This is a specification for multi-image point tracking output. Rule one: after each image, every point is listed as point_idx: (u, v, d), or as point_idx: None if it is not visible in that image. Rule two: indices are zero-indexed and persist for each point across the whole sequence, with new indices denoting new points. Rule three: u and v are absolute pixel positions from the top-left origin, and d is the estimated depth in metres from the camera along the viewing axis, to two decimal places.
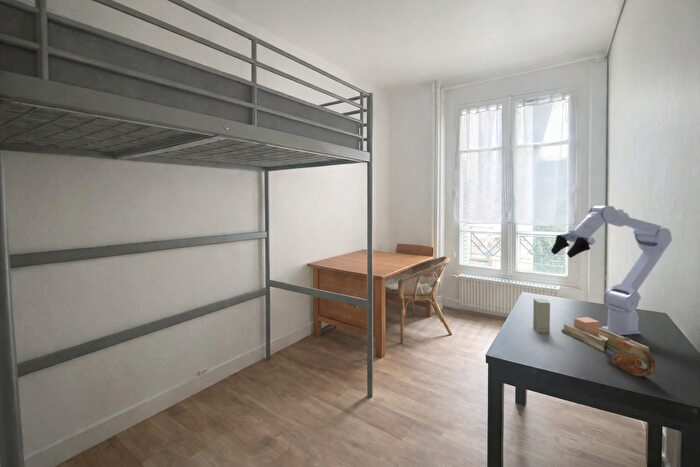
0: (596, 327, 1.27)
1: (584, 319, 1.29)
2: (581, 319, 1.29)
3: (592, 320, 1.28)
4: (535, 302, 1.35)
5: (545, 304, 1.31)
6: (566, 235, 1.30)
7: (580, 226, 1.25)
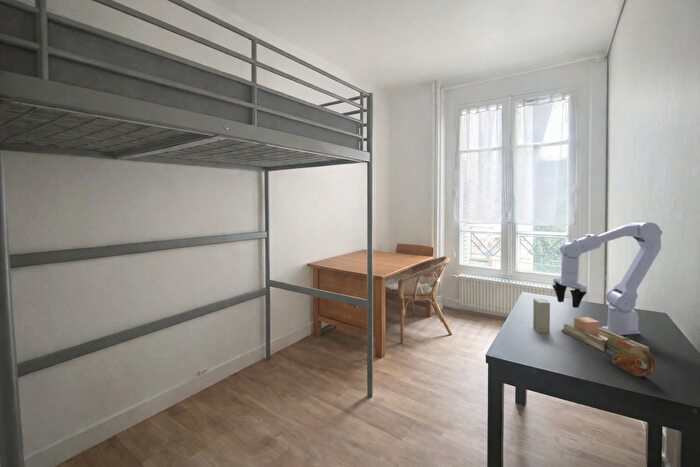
0: (596, 327, 1.27)
1: (584, 319, 1.29)
2: (581, 319, 1.29)
3: (592, 320, 1.28)
4: (535, 302, 1.35)
5: (545, 304, 1.31)
6: None
7: (564, 275, 1.35)
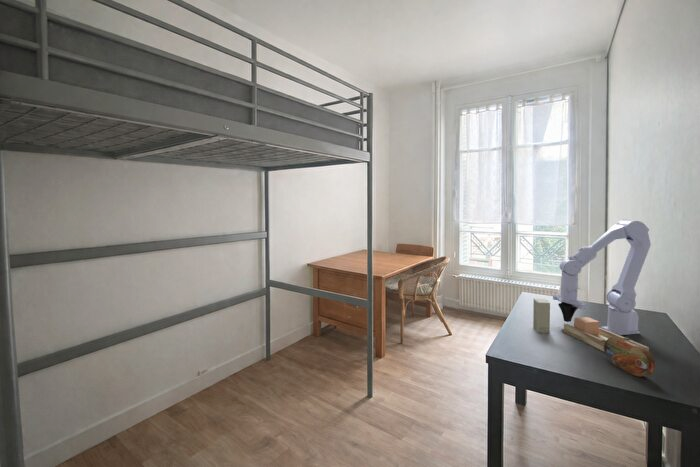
0: (596, 327, 1.27)
1: (584, 319, 1.29)
2: (581, 319, 1.29)
3: (592, 320, 1.28)
4: (535, 302, 1.35)
5: (545, 304, 1.31)
6: None
7: (563, 292, 1.36)
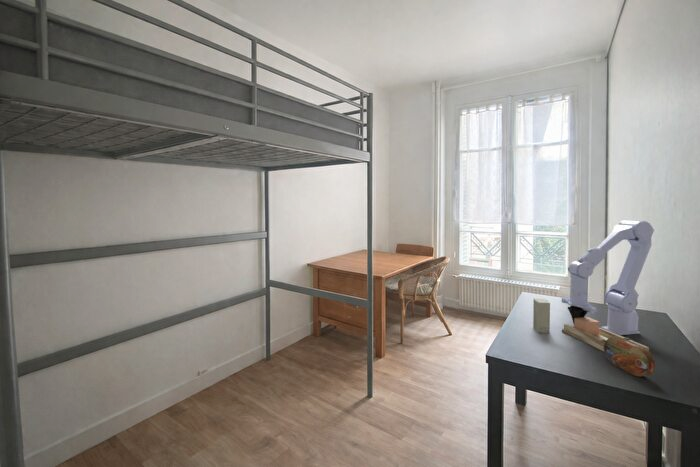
0: (596, 327, 1.27)
1: (584, 319, 1.29)
2: (581, 319, 1.29)
3: (592, 320, 1.28)
4: (535, 302, 1.35)
5: (545, 304, 1.31)
6: None
7: (573, 295, 1.31)
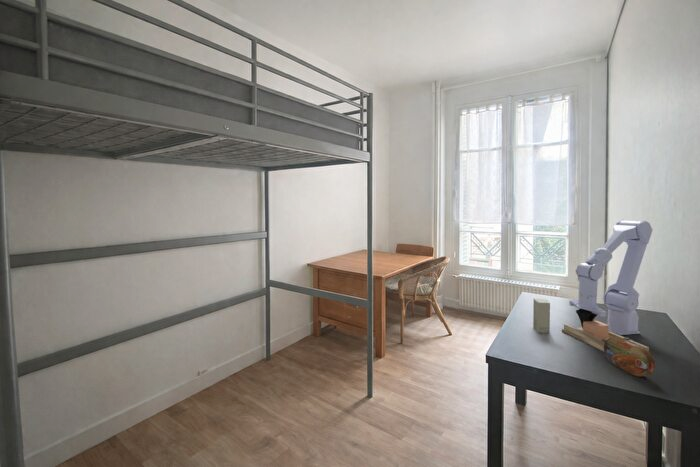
0: (606, 331, 1.23)
1: (593, 323, 1.25)
2: (590, 323, 1.25)
3: (602, 324, 1.24)
4: (535, 302, 1.35)
5: (545, 304, 1.31)
6: None
7: (582, 298, 1.27)
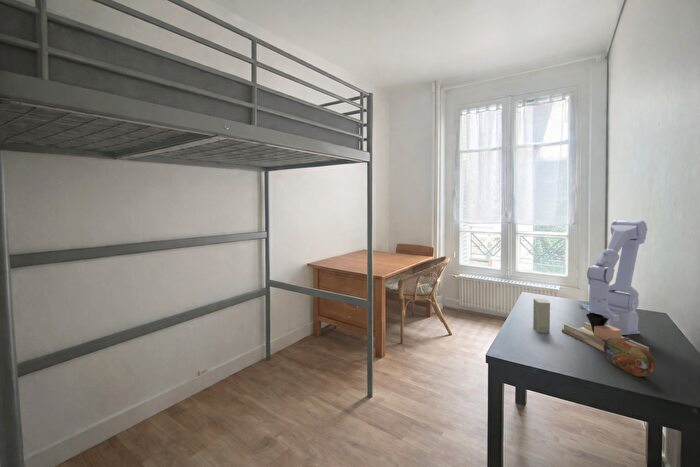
0: (618, 336, 1.18)
1: (605, 327, 1.21)
2: (602, 327, 1.21)
3: (614, 328, 1.20)
4: (535, 302, 1.35)
5: (545, 304, 1.31)
6: None
7: (593, 302, 1.23)
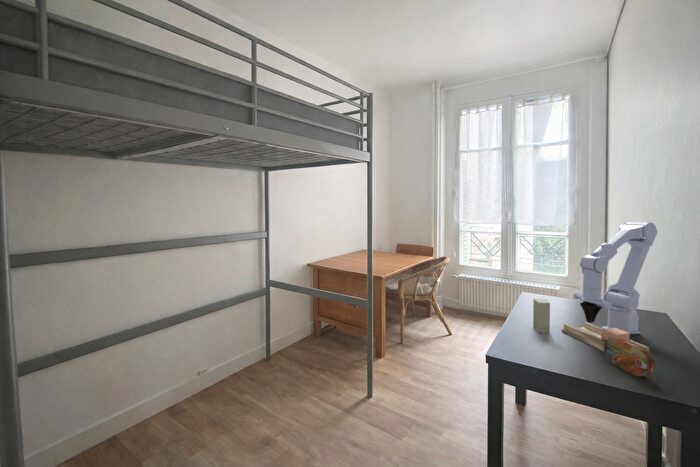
0: (626, 339, 1.15)
1: (613, 330, 1.18)
2: (609, 330, 1.18)
3: (621, 331, 1.17)
4: (535, 302, 1.35)
5: (545, 304, 1.31)
6: None
7: (586, 291, 1.26)
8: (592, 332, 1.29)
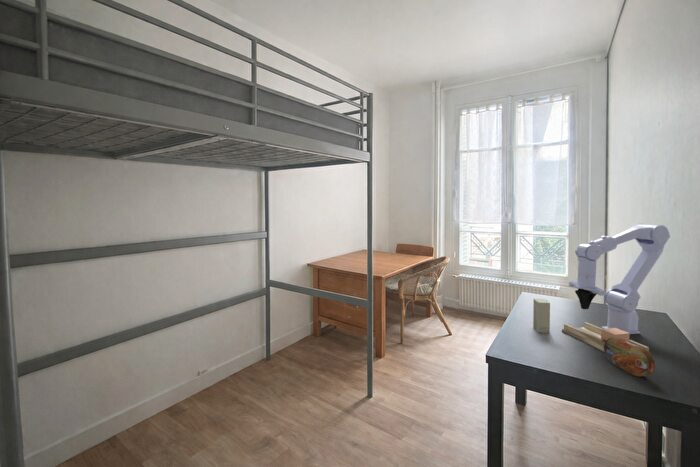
0: (626, 339, 1.15)
1: (613, 330, 1.18)
2: (609, 330, 1.18)
3: (621, 331, 1.17)
4: (535, 302, 1.35)
5: (545, 304, 1.31)
6: None
7: (581, 278, 1.30)
8: (592, 332, 1.29)
